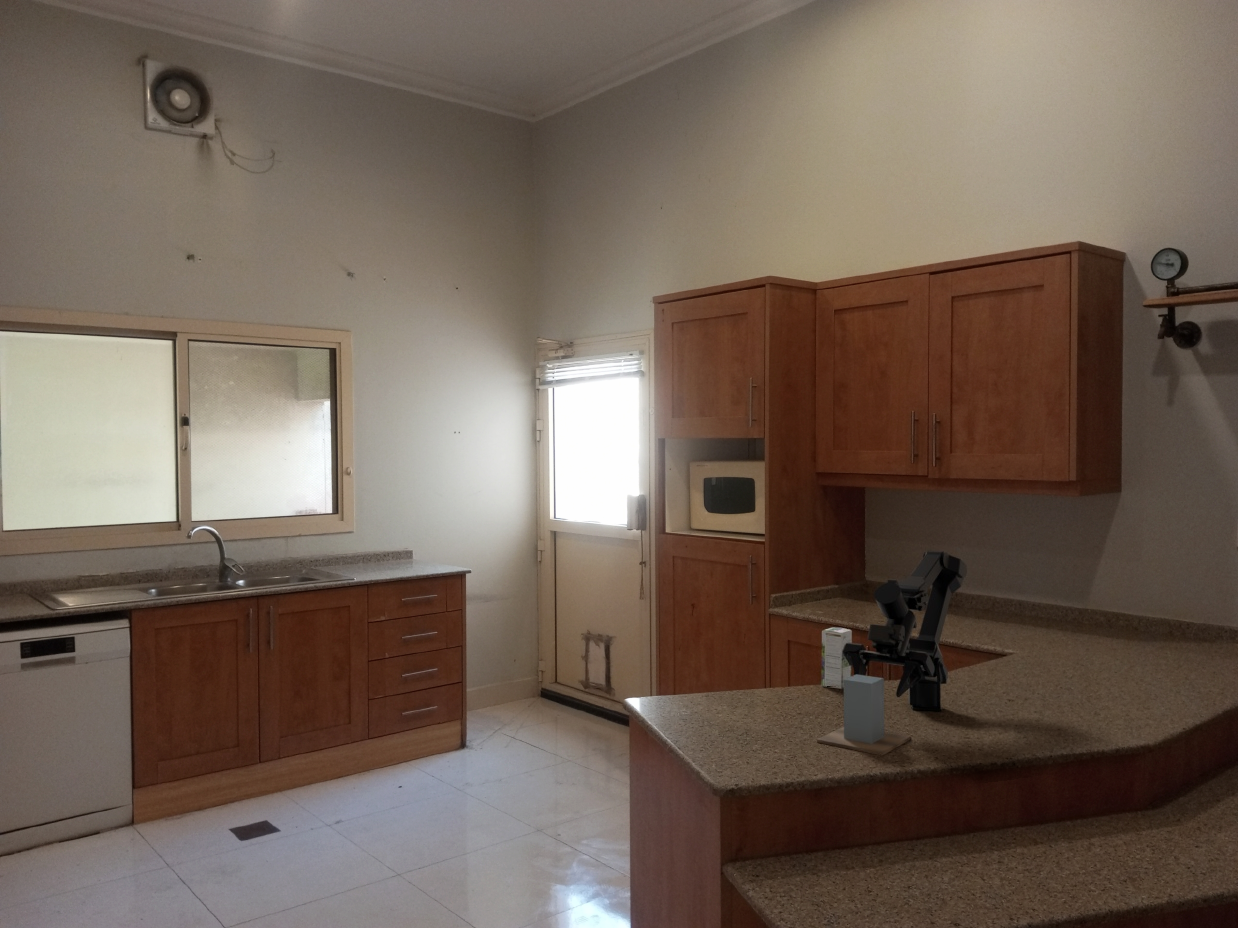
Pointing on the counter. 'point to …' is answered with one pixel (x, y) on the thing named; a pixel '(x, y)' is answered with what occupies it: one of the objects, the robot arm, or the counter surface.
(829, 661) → the syrup box
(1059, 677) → the counter surface
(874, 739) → the tall slate pillar
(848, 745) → the post base
